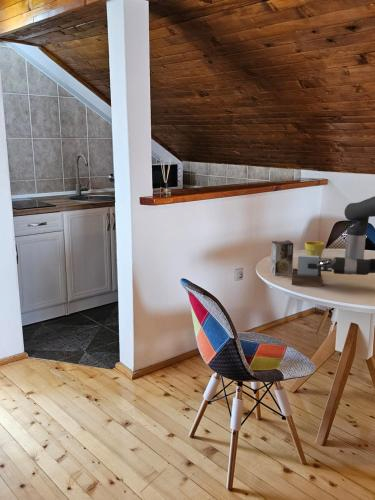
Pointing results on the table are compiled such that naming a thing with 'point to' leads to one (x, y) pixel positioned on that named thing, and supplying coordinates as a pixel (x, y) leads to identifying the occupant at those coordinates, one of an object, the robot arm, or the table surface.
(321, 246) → the plant pot
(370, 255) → the table surface
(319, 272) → the rack
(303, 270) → the light grey upright block
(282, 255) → the coffee box
